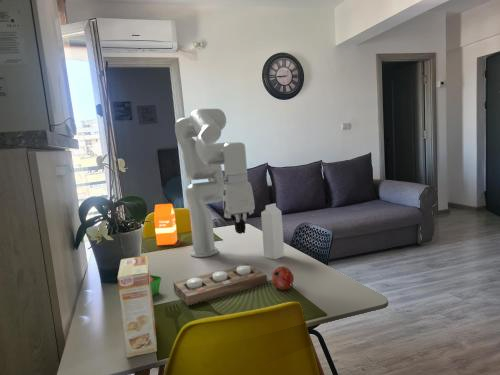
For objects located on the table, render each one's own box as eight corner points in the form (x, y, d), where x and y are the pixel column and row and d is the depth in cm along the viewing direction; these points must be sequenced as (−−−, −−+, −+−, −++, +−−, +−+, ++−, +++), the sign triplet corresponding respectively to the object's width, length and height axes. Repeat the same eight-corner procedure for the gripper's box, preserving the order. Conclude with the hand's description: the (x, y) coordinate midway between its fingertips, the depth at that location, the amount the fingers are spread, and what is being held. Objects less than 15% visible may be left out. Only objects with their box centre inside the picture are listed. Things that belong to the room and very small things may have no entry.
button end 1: (185, 286, 117) (184, 280, 117) (199, 283, 119) (198, 276, 119) (190, 291, 113) (189, 284, 113) (204, 287, 115) (204, 281, 115)
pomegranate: (281, 289, 121) (260, 277, 116) (292, 270, 122) (272, 258, 117) (294, 298, 115) (273, 287, 110) (305, 278, 115) (285, 266, 110)
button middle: (210, 280, 121) (210, 273, 121) (223, 276, 124) (223, 270, 123) (216, 284, 117) (216, 277, 117) (229, 281, 119) (229, 274, 119)
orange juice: (174, 244, 180) (170, 204, 177) (156, 245, 180) (152, 206, 177) (177, 239, 187) (173, 202, 185) (160, 241, 188) (156, 203, 185)
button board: (174, 290, 120) (173, 281, 120) (247, 271, 133) (246, 263, 133) (188, 305, 108) (187, 295, 108) (267, 282, 121) (266, 273, 121)
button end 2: (234, 273, 126) (234, 267, 125) (246, 270, 128) (246, 264, 128) (240, 277, 121) (240, 271, 121) (253, 274, 124) (252, 268, 123)
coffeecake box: (157, 351, 85) (148, 272, 82) (125, 358, 83) (115, 277, 80) (155, 322, 99) (148, 254, 97) (128, 328, 97) (120, 258, 95)
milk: (284, 256, 148) (281, 203, 145) (274, 260, 144) (271, 206, 141) (273, 253, 153) (270, 202, 150) (263, 257, 149) (260, 204, 146)
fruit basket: (137, 305, 111) (133, 270, 110) (118, 300, 116) (114, 267, 114) (164, 291, 120) (160, 259, 119) (146, 287, 125) (142, 256, 124)
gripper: (220, 182, 114) (225, 239, 116) (261, 177, 121) (265, 230, 123) (211, 181, 120) (216, 234, 123) (250, 176, 127) (254, 227, 130)
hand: (240, 232), depth 123 cm, fingers closed
